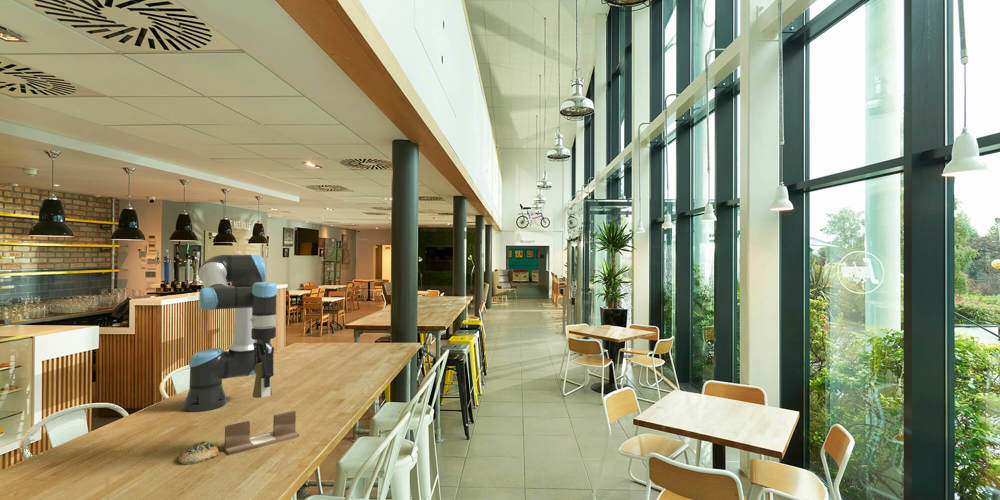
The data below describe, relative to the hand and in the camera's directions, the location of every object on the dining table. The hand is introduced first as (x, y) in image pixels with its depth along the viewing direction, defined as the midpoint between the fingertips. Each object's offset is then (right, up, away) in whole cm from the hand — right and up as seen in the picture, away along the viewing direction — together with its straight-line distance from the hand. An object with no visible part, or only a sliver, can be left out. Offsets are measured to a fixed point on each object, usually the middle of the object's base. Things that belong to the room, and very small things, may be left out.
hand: (262, 394), depth 156 cm
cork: (0, 0, 0) cm, 0 cm away
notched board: (0, -16, 0) cm, 16 cm away
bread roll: (-13, -16, -13) cm, 25 cm away
